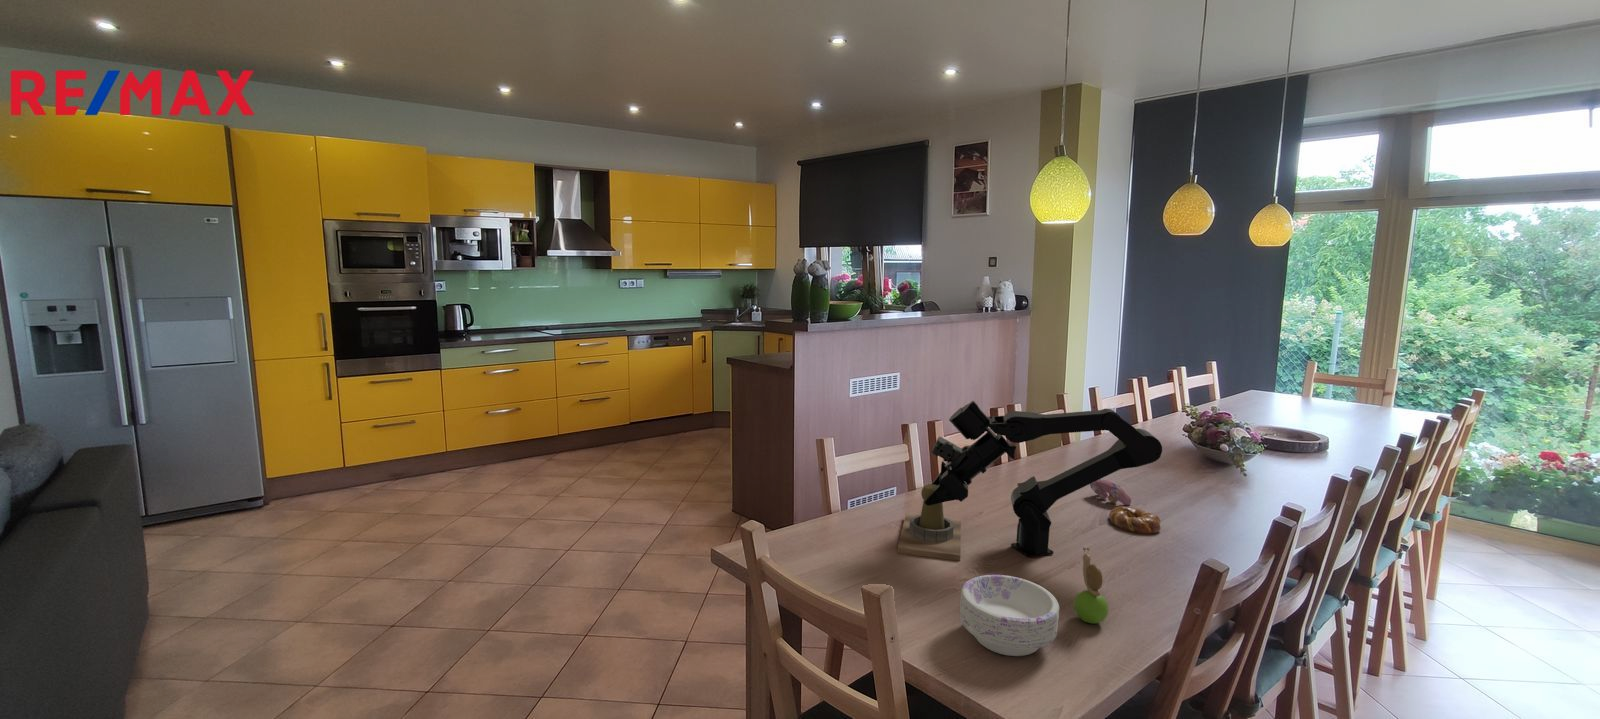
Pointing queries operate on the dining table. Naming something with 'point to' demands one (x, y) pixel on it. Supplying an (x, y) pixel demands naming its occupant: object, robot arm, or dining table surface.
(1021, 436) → the robot arm
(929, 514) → the cork
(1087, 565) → the snail figurine
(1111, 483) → the video game controller
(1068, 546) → the dining table surface
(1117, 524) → the pretzel
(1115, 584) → the dining table surface
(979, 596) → the paper bowls
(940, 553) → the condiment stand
